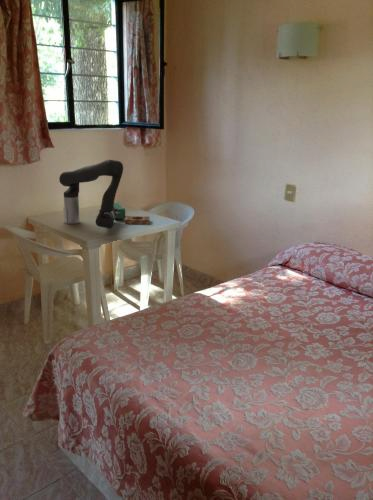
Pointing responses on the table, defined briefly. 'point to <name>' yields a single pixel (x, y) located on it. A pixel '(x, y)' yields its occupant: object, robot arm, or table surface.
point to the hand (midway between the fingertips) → (111, 208)
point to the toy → (122, 211)
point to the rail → (137, 220)
